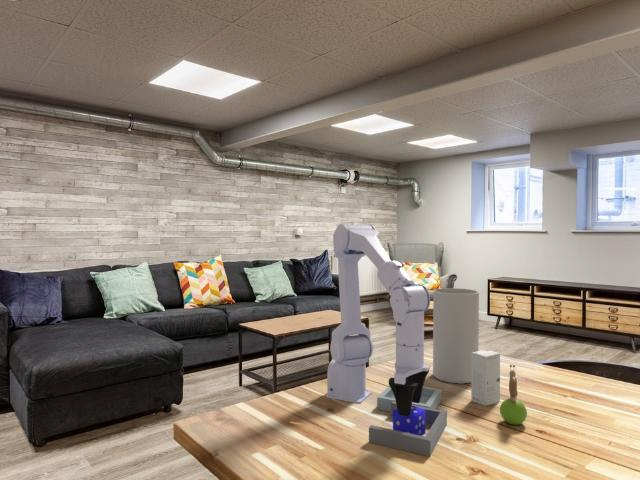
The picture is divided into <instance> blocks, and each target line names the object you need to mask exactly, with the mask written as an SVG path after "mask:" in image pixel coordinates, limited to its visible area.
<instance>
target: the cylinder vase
mask: <svg viewBox="0 0 640 480" xmlns="http://www.w3.org/2000/svg"><path fill="white" fill-rule="evenodd" d="M432 305H433V306H432V307H433V308H432V309H433V311H432V313H433V314H432V315H433V316H432V317H433V318H432V320H433V322H432V326H433V327H432V329H433V331H432V374H433V376H434V378H436V379H437V380H439V381H441V382H445V383H450V384H455V383H458V384H459V385H462V384H463V385H464V384H465V383H467V384H471V372H472V352H477V351H479V345H480V344H479V343H480V342H479V333H480V332H479V331H480V329H479V326H480V325H479V323H480V321H479V320H480V319H479V318H480V291H479V290H475V289H467V288H456V287H454V288H453V287H451V288H450V287H448V288H445V287H443V288H434V289H433V304H432ZM458 384H457V385H458Z"/></svg>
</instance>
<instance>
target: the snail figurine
mask: <svg viewBox="0 0 640 480" xmlns="http://www.w3.org/2000/svg"><path fill="white" fill-rule="evenodd" d="M509 367H510V368H516V365H515V364H513V365H512V364H509ZM508 373H509V383H508V390H509V391H508V392H509V396H510V397H509V398H507V399H504V400H503V401H502V402H501V403H500V406H499V413H500V416H501V418H502V419H503V420H504V421H505V422H506V423H507V424H510V425H514V426H518V425H521V424H523V423H524V422H525V421H526V419H527V417H528V411H527V407H526V406H525V404H524V403H523V402H522V401H521V400H519V399H518V379H517V377H516V371H515V369H510V371H509V372H508Z"/></svg>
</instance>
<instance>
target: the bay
mask: <svg viewBox="0 0 640 480" xmlns="http://www.w3.org/2000/svg"><path fill="white" fill-rule="evenodd" d="M412 406H415V407H418V408H422V409H425V410H426V413H425V424H429V425H432V426H431V427H430V428H429V430H428V432H427V434H426V435H425V436H423V435H421V436H420V435H415V434H410V433H406V432H401V431H396V430H393V428H386V427H381V426H378V425H371V424H370V425H369V427H368V443H371V444H374V445H378V446H383V447H386V448H392V449H394V450H395V449H396V450H400V451H404V452H408V453H413V454H417V455H422V456H427V457H431V456H432V454H433V452H434V451H435V449H436V447H437V444H438V442H439V440H440V439H441V436H442V435H443V433H444V431H445V429H446V428H447V426H448V420H447V418H448V411H447V410H444V409H443V410H442V409H437V408H436V409H433V408H427V407H422V406H417V405H412ZM395 409H397V404H396V402H395V401H393V402H392V403H391V412H390V416H391V417H393V410H395Z"/></svg>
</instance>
